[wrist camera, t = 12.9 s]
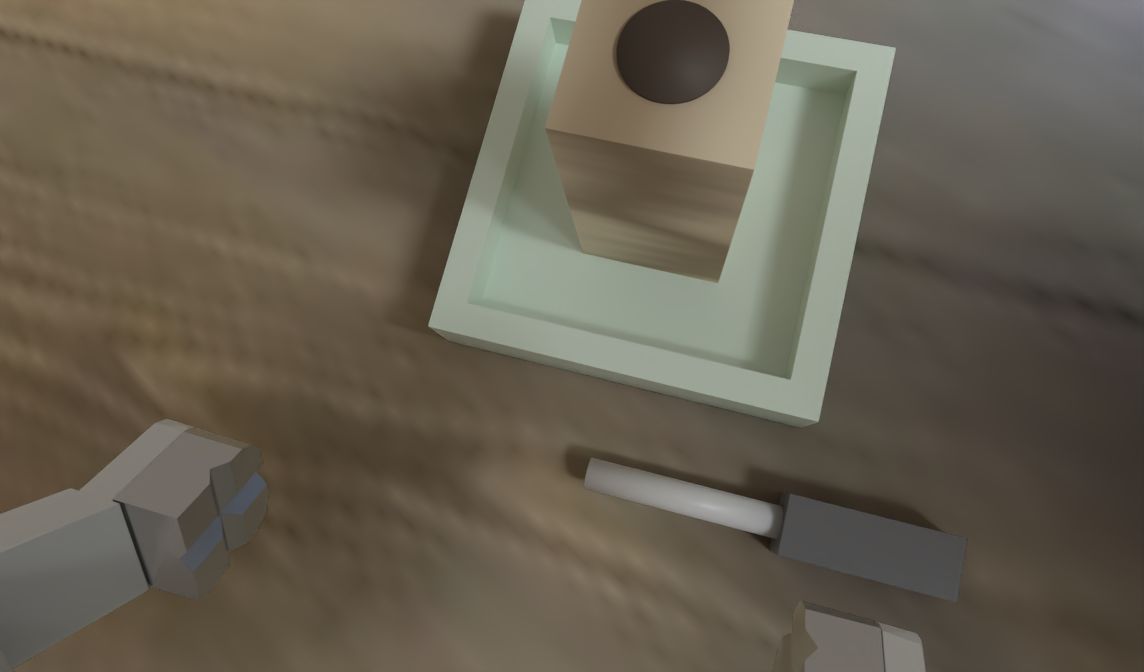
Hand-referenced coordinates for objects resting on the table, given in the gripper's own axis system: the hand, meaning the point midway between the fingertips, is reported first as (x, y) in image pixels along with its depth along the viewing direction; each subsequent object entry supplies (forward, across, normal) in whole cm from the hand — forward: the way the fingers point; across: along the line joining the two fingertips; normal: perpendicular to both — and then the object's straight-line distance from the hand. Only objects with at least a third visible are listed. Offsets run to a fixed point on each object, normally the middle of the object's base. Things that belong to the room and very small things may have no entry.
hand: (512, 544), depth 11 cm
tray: (+17, 0, +2) cm, 17 cm away
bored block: (+16, 0, +2) cm, 16 cm away
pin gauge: (+11, -6, +9) cm, 15 cm away
